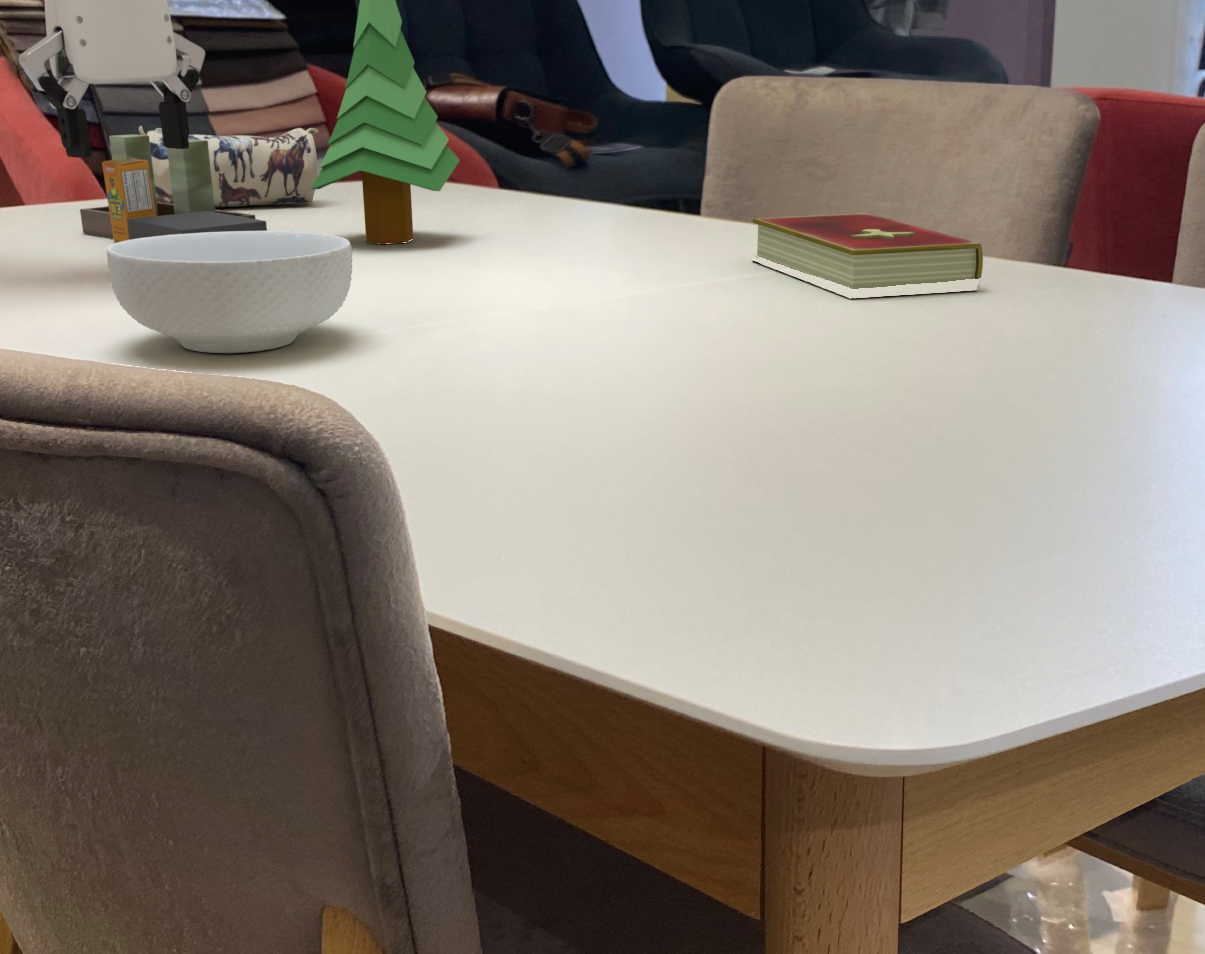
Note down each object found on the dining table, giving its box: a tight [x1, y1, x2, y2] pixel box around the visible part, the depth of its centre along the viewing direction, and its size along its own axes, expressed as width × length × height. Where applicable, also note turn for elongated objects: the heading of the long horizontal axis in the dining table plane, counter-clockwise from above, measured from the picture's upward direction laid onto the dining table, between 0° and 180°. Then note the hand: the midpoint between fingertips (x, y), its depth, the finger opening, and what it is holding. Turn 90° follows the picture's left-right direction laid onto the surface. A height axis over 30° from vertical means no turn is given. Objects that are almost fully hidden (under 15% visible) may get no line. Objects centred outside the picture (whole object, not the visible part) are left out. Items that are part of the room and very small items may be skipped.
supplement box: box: [101, 158, 156, 244], centre depth 131 cm, size 3×3×10 cm
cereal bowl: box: [106, 230, 353, 354], centre depth 102 cm, size 17×17×7 cm
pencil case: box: [138, 125, 319, 209], centre depth 177 cm, size 22×8×10 cm, turn 106°
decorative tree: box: [310, 0, 461, 245], centre depth 145 cm, size 14×16×30 cm
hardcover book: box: [752, 212, 984, 289], centre depth 128 cm, size 12×21×4 cm, turn 17°
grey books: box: [127, 211, 268, 240], centre depth 127 cm, size 10×11×5 cm
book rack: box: [79, 133, 256, 240], centre depth 153 cm, size 9×19×10 cm, turn 48°
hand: (129, 152), depth 129 cm, fingers open, 9 cm apart
